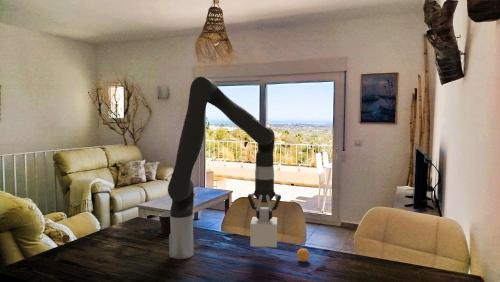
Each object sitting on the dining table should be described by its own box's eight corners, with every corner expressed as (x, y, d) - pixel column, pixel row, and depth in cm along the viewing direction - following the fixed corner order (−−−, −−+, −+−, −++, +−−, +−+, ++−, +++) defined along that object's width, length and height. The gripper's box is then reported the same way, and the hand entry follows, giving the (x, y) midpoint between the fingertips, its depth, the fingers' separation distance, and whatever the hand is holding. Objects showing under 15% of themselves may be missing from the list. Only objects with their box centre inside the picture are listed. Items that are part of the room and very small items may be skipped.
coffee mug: (172, 237, 165) (171, 217, 164) (156, 236, 167) (155, 216, 166) (181, 229, 176) (181, 210, 176) (166, 228, 178) (166, 210, 177)
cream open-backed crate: (250, 246, 131) (250, 211, 130) (252, 237, 141) (252, 204, 140) (276, 247, 130) (276, 212, 129) (276, 238, 140) (277, 205, 140)
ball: (305, 265, 132) (294, 259, 132) (305, 260, 137) (294, 254, 137) (312, 255, 132) (300, 248, 132) (311, 250, 137) (300, 244, 137)
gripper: (245, 178, 131) (245, 221, 132) (282, 179, 130) (282, 223, 131) (247, 175, 139) (247, 216, 140) (282, 176, 137) (281, 217, 138)
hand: (264, 219), depth 135 cm, fingers closed on cream open-backed crate, 3 cm apart
